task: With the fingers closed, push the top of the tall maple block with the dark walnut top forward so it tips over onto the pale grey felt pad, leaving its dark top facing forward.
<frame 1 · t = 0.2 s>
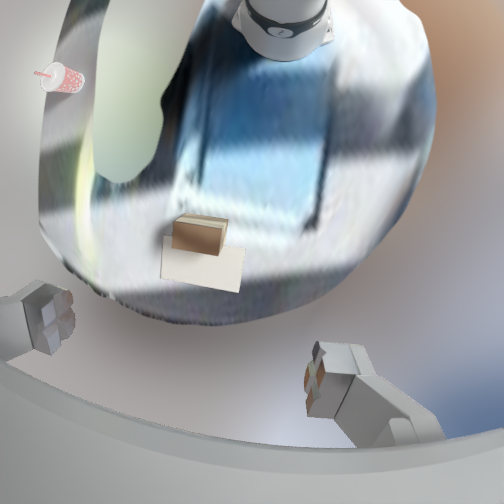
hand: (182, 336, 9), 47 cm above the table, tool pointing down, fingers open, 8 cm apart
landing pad: (201, 263, 59), on the table
block: (205, 227, 57), on the table
beverage cup: (76, 83, 49), on the table
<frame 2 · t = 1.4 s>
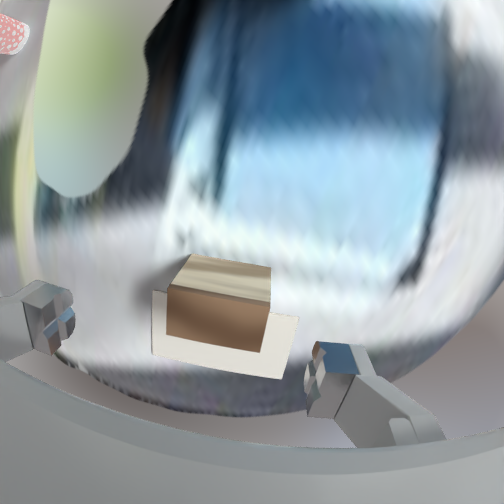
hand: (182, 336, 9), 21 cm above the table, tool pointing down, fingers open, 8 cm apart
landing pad: (220, 338, 34), on the table
block: (228, 280, 31), on the table
beverage cup: (19, 39, 23), on the table
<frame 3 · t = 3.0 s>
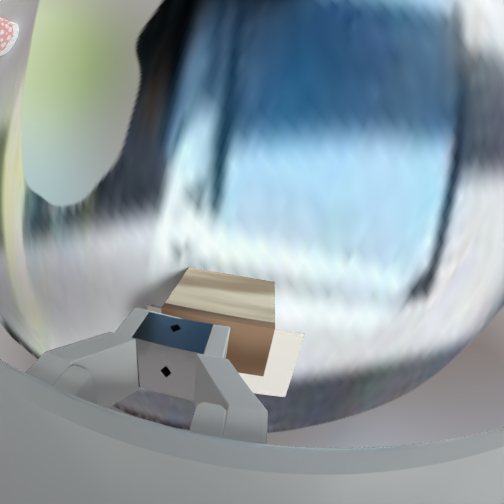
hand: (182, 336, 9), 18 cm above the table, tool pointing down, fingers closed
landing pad: (219, 355, 31), on the table
block: (228, 296, 29), on the table
beverage cup: (8, 39, 21), on the table
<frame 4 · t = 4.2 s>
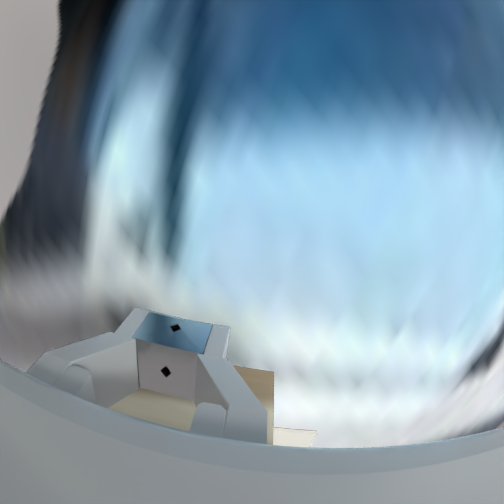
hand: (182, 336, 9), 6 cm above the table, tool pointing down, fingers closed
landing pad: (196, 449, 19), on the table
block: (201, 386, 17), on the table
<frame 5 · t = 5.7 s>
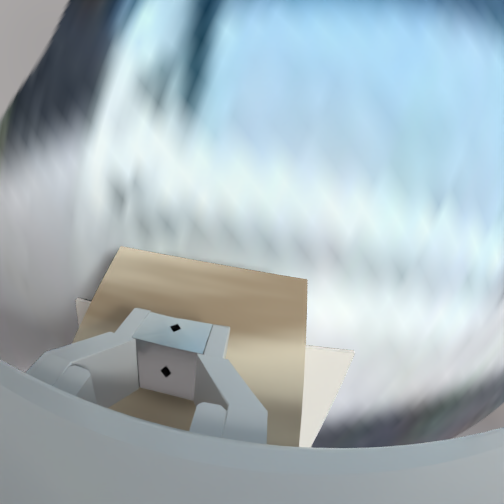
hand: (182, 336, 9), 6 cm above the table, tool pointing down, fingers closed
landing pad: (201, 388, 17), on the table
block: (209, 295, 14), point 1 cm above the table, tilted 27°
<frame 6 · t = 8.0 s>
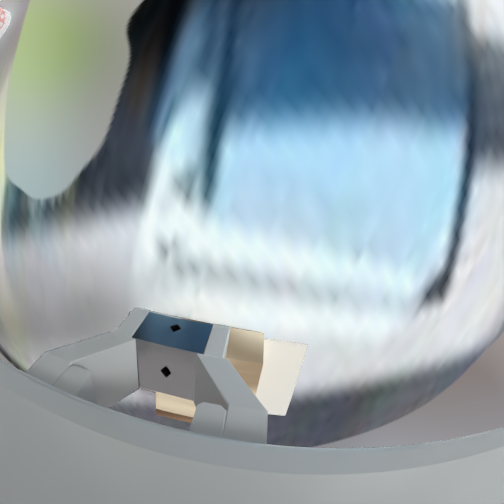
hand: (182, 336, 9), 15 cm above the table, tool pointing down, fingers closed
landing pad: (211, 369, 27), on the table
block: (213, 338, 23), point 3 cm above the table, tilted 90°, touching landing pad
beverage cup: (0, 28, 18), on the table
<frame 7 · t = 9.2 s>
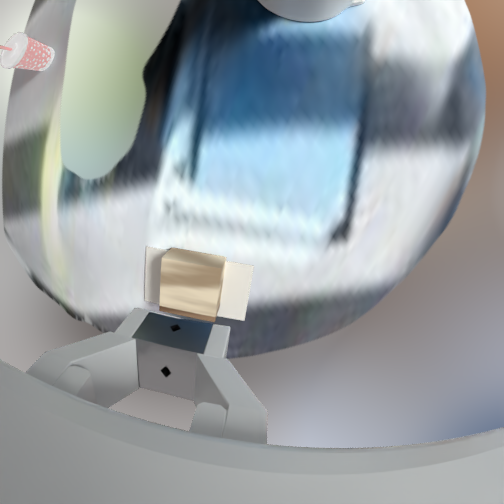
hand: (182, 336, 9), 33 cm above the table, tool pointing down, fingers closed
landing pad: (195, 284, 45), on the table
block: (195, 257, 41), point 3 cm above the table, tilted 90°, touching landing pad
beverage cup: (45, 59, 35), on the table
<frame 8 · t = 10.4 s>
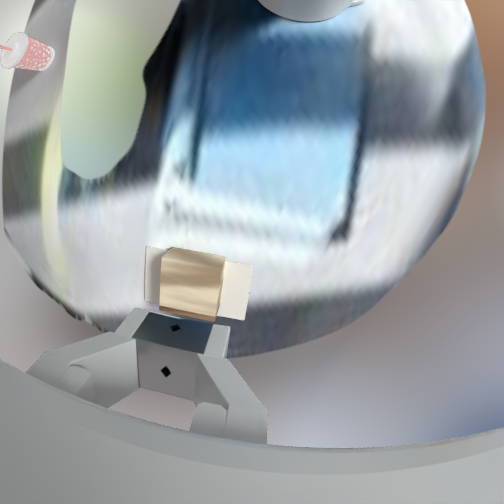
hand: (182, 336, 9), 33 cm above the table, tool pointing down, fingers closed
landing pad: (195, 283, 45), on the table
block: (195, 257, 41), point 3 cm above the table, tilted 90°, touching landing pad
beverage cup: (45, 59, 35), on the table
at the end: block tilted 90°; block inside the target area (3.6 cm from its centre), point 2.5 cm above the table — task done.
